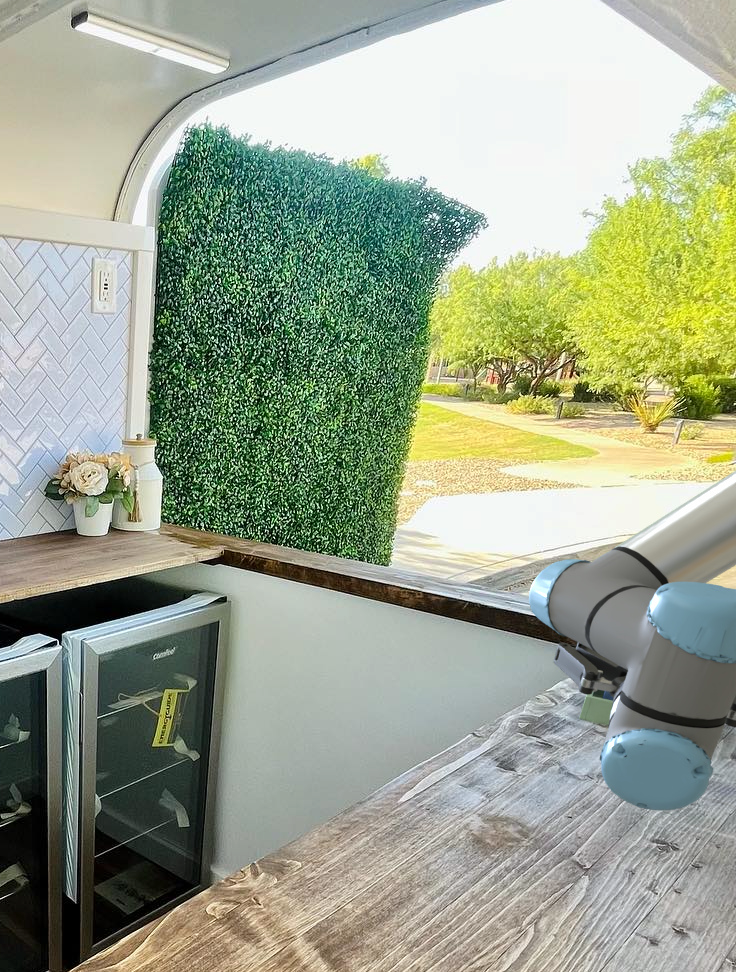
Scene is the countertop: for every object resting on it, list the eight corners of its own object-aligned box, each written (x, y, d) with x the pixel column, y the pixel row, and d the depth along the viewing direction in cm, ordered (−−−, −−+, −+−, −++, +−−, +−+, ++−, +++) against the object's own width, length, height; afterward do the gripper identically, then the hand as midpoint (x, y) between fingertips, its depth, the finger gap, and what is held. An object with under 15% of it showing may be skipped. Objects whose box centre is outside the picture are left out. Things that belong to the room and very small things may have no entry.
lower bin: (685, 716, 111) (694, 690, 109) (684, 747, 103) (694, 720, 101) (586, 694, 118) (594, 669, 116) (577, 722, 110) (586, 696, 108)
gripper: (507, 713, 86) (534, 656, 101) (812, 789, 72) (790, 710, 87) (524, 652, 83) (549, 603, 99) (845, 718, 69) (817, 649, 84)
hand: (662, 653), depth 93 cm, fingers open, 13 cm apart
